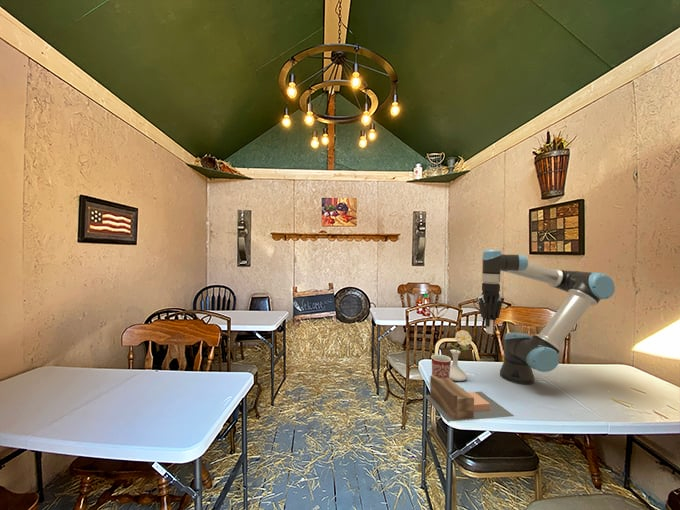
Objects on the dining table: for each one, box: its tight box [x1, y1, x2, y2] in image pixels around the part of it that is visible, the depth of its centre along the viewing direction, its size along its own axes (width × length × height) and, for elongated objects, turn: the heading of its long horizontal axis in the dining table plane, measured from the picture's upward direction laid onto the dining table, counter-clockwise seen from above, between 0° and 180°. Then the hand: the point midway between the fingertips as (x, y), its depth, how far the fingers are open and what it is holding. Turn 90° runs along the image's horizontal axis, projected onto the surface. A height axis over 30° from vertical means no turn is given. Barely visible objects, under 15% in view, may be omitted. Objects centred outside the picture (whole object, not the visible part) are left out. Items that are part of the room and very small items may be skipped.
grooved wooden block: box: [429, 374, 474, 419], centre depth 118 cm, size 9×18×9 cm, turn 10°
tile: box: [466, 391, 490, 411], centre depth 120 cm, size 14×10×3 cm
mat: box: [423, 391, 515, 423], centre depth 120 cm, size 28×20×1 cm
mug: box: [430, 354, 452, 378], centre depth 139 cm, size 13×9×14 cm
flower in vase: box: [449, 329, 473, 382], centre depth 146 cm, size 13×11×25 cm
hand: (489, 333), depth 135 cm, fingers closed
